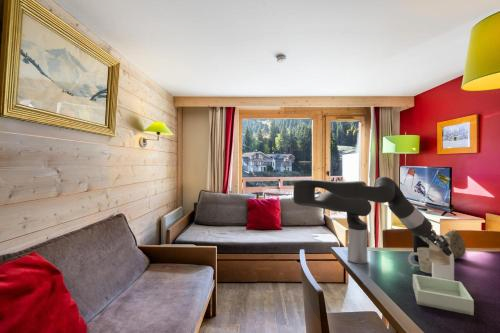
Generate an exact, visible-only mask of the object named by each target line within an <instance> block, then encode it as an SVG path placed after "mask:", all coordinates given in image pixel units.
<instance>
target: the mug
mask: <svg viewBox="0 0 500 333" xmlns="http://www.w3.org/2000/svg"><path fill="white" fill-rule="evenodd" d="M417 252H418V253H414V252H411V253H409V255H408V256H407V261H408V263H409V265H411V266H413V267H419V270H420V272H423V273H425V274H432V262H431V261H429V248H424V247H421V248H417ZM414 255H418V259H419V260H418V259H417V260H418V264H414V263H413V262H412V257H414Z"/></svg>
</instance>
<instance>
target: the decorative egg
mask: <svg viewBox="0 0 500 333" xmlns="http://www.w3.org/2000/svg"><path fill="white" fill-rule="evenodd" d="M444 235H445V236H448V237H449V238H450V249H451V251H452V253H453V256H454V260H457V259H460V258H462V257H463V256H464V254H465V252H466V249H467V248H466V244H465V240H464V239H463V237H462V236H461V234H460V233H459V232H457V231H455V230H449V231H448V232H446V233H445V234H444Z"/></svg>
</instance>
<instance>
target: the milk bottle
mask: <svg viewBox="0 0 500 333" xmlns="http://www.w3.org/2000/svg"><path fill="white" fill-rule="evenodd" d="M442 235H443V236H445V234H442ZM446 237H448V236H446ZM450 250H451V249H450ZM431 277H434V278H440V279H447V280H453V281H455V259H454V256H453V253H452V254H451V255H450V265H437V264H435V263H433V262H432V273H431Z"/></svg>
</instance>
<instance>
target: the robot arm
mask: <svg viewBox="0 0 500 333" xmlns="http://www.w3.org/2000/svg"><path fill="white" fill-rule="evenodd" d="M316 188H319V189H322V190H324V191H326V192H324V193H323V194H321V195H320V196H318V197H317V198H316ZM292 195H293V196H292V198H293V203H294V204H296V205H297V206H303V207H309V208H310V207H311V208H320V209H325V210H328V211H333V212H339V213H346V223H347V227H348V228H347V230H348V232H347V240H348V241H347V261H348V262H350V263H354V264H366V263H368V224H367V223H366V221H363V219H361V218H360V217H367V216H368V215H369V214H371V212H372V204H371V202H374V203H376V204H378V203H380V204H386V203H387V205H388V208H389V210H390V211H391V212H392V214H394V216H396V218H397V219H398V220H399V221H400V223H401V224H403V226H404V227H405V229H408V231H409V232H410V233H411V234H412V236H413V235H415V236H418V237H419V238H420V239H422V240H423V241H424V242H427V243H428V244H429V243H430V242H431V243H432V244H433V245H435V246H438V247H439V248H440V249H441V250H442V251H443V252H444V253H445V254H446V255H447V256H450V255H451V254H452V251H451V250H450V249H449V248H448V247H449V246H450V245H449V243H448V242H447V241H446V239H445V238H444V237H443V236H442V235H443V234H437V232H435V231H434V230H433V228H432V227H433V225H432V222H431V221H430V220H429V219H428V218H427V217H426V216H425V215H424V214H423V212H421V210H419V209H418V208H417V207H416V206H414V204H412V203H411V202H410V200H409V199H408V198H406V196H405V195H404V193H403V192H402V190H401V188H400V187H399V186H398V184H397V183H396V182H395V181H394V179H391V178H390V177H388V176H380V177H378V178H376V179H375V181H374V184H373V186H371V185H367V183H366V182H365V181H362V180H359V181H356V180H354V181H353V180H351V181H332V180H319V179H318V180H317V179H298V180H296V181H294V183H293V193H292ZM431 228H432V230H431ZM438 235H440V236H438ZM436 239H437V240H436ZM429 241H430V242H429ZM434 241H436V242H435V243H434Z"/></svg>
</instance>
